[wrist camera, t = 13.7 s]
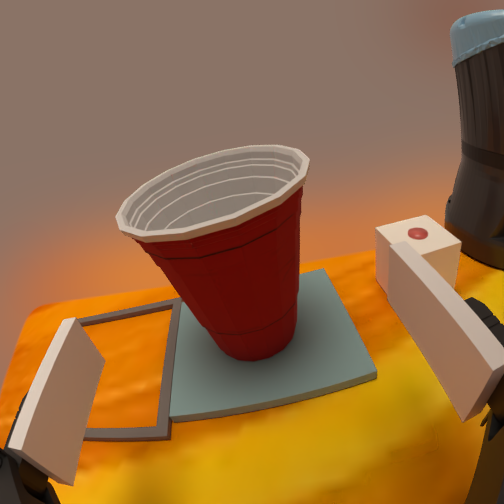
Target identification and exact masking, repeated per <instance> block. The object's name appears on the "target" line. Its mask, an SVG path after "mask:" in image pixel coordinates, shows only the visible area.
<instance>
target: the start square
mask: <svg viewBox="0 0 504 504" xmlns="http://www.w3.org/2000/svg"><path fill="white" fill-rule="evenodd" d="M182 302H184V301H183V300H182V298H181V297H179V298H175V299H170V300H166V301H161V302H156V303H152V304H147V305H143V306H138V307H133V308H129V309H124V310H119V311H114V312H109V313H105V314H100V315H95V316H90V317H85V318H80V319H77V320H78V321H79V323H80V324H81V326H87V325H92V324H98V323H103V322H108V321H113V320H118V319H123V318H128V317H133V316H138V315H143V314H148V313H153V312H158V311H163V310H167V309H172V314H171V320H170V326H169V333H168V339H167V346H166V353H165V360H164V367H163V374H162V382H161V390H160V399H159V407H158V417H157V426H155V427H137V428H86V430H85V434H84V438H83V440H88V441H153V440H170V439H171V423H172V419H171V418H170V417H169V414H170V402H171V391H172V380H173V370H174V361H175V352H176V343H177V335H178V327H179V319H180V311H181V304H182Z"/></svg>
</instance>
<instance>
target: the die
mask: <svg viewBox="0 0 504 504" xmlns="http://www.w3.org/2000/svg"><path fill="white" fill-rule="evenodd" d="M375 234H376V235H375V236H376V237H375V238H376V280H377V282H378V283H379V284H380V286H381V287H382V288H383V290H384V291H385V293H386V294H387V295H388V272H389V245H392V244H395V243H399V242H403V241H406V242H407V243H408V244H409V245H410V246H411V247H412V248H414V249H415V250H416V251H417V252H418V253H419V254H420V255H421V256H422V257H423V258H424V259H425V260H426V261H427V262H428V263H429V264H430V265H431V266H432V267H433V268H434V269H435V270H436V271H437V272H438V273H439V274H440V275H441V277H442V278H443V279H444V280H445V281H446V282H447V283H448V284H449V285H450V286H451V287H452V288H453V289H454V287H455V282H456V276H457V270H458V264H459V258H460V251H461V244H462V242H461V241H460V240H459V239H457V238H456V237H455V236H453V235H452V234H451V233H450V232H448V231H447V230H446V229H444V228H443V227H442V226H440V225H439V224H438V223H436V222H435V221H434V220H432V219H431V218H430V217H428V216H427V215H424V216H420V217H416V218H411V219H408V220H403V221H400V222H395V223H392V224H388V225H384V226H380V227H376V228H375Z"/></svg>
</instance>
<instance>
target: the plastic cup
mask: <svg viewBox="0 0 504 504" xmlns="http://www.w3.org/2000/svg"><path fill="white" fill-rule="evenodd" d="M309 164H310V159H309V158H308V157H307V156H306V155H304V153H302V152H301V151H300V150H299V149H295V148H290V147H286V146H281V145H252V146H246V147H239V148H233V149H228V150H223V151H219V152H216V153H212V154H209V155H205V156H202V157H199V158H196V159H193V160H190V161H188V162H186V163H183V164H181V165H179V166H176V167H174V168H172V169H169V170H167V171H165V172H164V173H162V174H160V175H159V176H157V177H155V178H153V179H152V180H150V181H148V182H147V183H145V184H144V185H142V186H141V187H140V188H139V189H138V190H136V191H135V192H134V193H133V194H132V195H131V196H129V197H128V198H127V199H126V200H125V201H124V203H123V205H122V206H121V208H120V209H119V211H118V213H117V215H116V220H117V223H118V226H119V230H120V231H121V232H122V233H123V234H124V235H125V236H128V237H131V238H132V239H135V241H136V242H137V243H139V244H140V245H141V247H142V248H143V249H144V251H145V252H146V253H148V254H149V255H150V256H151V258H152V259H153V261H154V262H155V263H156V265H157V266H159V267H160V268H161V269H162V271H163V272H164V274H165V275H166V277H167V278H168V280H169V281H170V282H171V284H172V285H173V287H174V288H175V290H176V291H177V292H178V294H179V295H180V297H181V298H182V300H183V301H184V302H185V304H186V305H187V306H188V308H189V309H190V311H191V312H192V313H193V315H194V316H195V317H196V319H197V320H198V322H199V323H200V324H201V326H202V327H204V328H206V330H207V331H208V333H209V334H210V336H211V337H212V338H213V340H214V341H215V343H216V344H217V345H218V347H219V348H220V349H221V350H222V351H224V352H225V354H226V355H228V356H230V357H232V358H234V359H236V360H240V361H252V362H254V361H258V360H262V359H267V358H270V357H272V356H273V355H275V354H277V353H279V352H280V351H282V350H284V348H285V347H286V346H287V345H288V344H289V342H290V341H291V340H292V339H293V335H294V331H295V327H296V323H297V295H298V292H299V262H300V259H299V258H300V255H299V254H300V215H301V198H302V195H303V185H304V184H305V181H306V177H307V173H308V170H309Z"/></svg>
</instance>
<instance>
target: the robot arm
mask: <svg viewBox="0 0 504 504" xmlns="http://www.w3.org/2000/svg"><path fill="white" fill-rule="evenodd" d="M450 39H451V45H452V53H453V62H452V66H453V68H455V72H456V79H457V86H458V95H459V105H460V119H461V140H462V141H461V142H462V158H461V163H460V167H459V170H458V173H457V177H456V180H455V184H454V188H453V193H452V195H451V196H450V197H449V199H448V201H447V204H446V211H445V229H446V230H447V231H448V232H450V233H451V234H452V235H453V236H455V237H456V238H457V239H459V240H460V241H461V242H462V244H461V250H462V251H464V252H465V253H467V254H468V255H470V256H471V257H473V258H475V259H477V260H479V261H481V262H484V263H486V264H489V265H491V266H494V267H498V268H501V269H504V10H490V11H482V12H477V13H473V14H470V15H467V16H464V17H462V18H460V19H458V20H457V21H456V22H454V24H453V25H452V27H451V30H450ZM387 300H388V302H389V303H390V305H391V306H392V308H393V309H394V311H395V312H396V314H397V315H398V317H399V318H400V320H401V321H402V323H403V324H404V326H405V327H406V329H407V330H408V332H409V333H410V335H411V336H412V338H413V340H414V341H415V343H416V344H417V346H418V347H419V349H420V351H421V352H422V354H423V355H424V357H425V359H426V360H427V362H428V363H429V365H430V367H431V368H432V370H433V372H434V373H435V375H436V377H437V378H438V380H439V382H440V383H441V385H442V387H443V389H444V390H445V392H446V394H447V395H448V397H449V399H450V401H451V402H452V404H453V406H454V408H455V410H456V411H457V413H458V415H459V417H460V419H461V421H462V422H465V421H467V420H468V419H470V418H472V417H474V416H475V415H477V414H479V413H480V412H481V411H482V410H483V408H484V407H485V405H486V403H488V405H489V407H490V408H491V409H490V411H489V412H488V414H487V415H486V416H485V418H484V419H483V421H482V423H481V425H480V426H484V424H485V423H486V422H487V425H486V430H485V435H484V439H483V444H482V448H481V452H480V456H479V460H478V464H477V467H476V471H475V474H474V478H473V481H472V484H471V487H470V490H469V493H468V496H467V499H466V502H465V504H504V325H503V324H502V323H501V324H500V321H499V320H498V319H497V317H496V316H493V313H492V312H491V311H490V310H489V309H488V307H487V306H486V305H485V304H484V303H482V302H480V301H478V300H476V299H475V298H473V297H471V298H469V299H466V300H463V299H462V298H461V297H460V296H459V295H458V293H457V292H456V291H455V290H454V289H453V288H452V287H451V286H450V285H449V284H448V283H447V282H446V281H445V280H444V279H443V278H442V277H441V275H440V274H439V273H438V272H437V271H436V270H435V269H434V268H433V267H432V266H431V265H430V264H429V263H428V262H427V261H426V260H425V259H424V258H423V257H422V256H421V255H420V254H419V253H418V252H417V251H416V250H415V249H414V248H412V247H411V246H410V245H409V244H408V243H407V242H406V241H403V242H399V243H395V244H392V245H389V272H388V295H387ZM104 363H105V360H104V358H103V357H102V355H101V354H100V353H99V351H98V350H97V348H96V347H95V345H94V344H93V343H92V341H91V340H90V338H89V337H88V335H87V334H86V332H85V331H84V329H83V328H82V326H81V324H80V323H79V321H78V320H77V318H76V317H75V318H70V319H64V320H63V321H62V323H61V325H60V327H59V329H58V331H57V333H56V335H55V337H54V339H53V341H52V343H51V345H50V347H49V349H48V351H47V353H46V355H45V357H44V359H43V361H42V363H41V365H40V367H39V369H38V372H37V374H36V376H35V378H34V381H33V383H32V385H31V387H30V390H29V391H28V392H27V394H26V395H25V396H24V398H23V399H22V402H21V404H20V407H19V411H18V412H17V414H16V419H14V422H13V425H12V427H11V430H10V433H9V436H8V438H7V441H6V444H5V447H4V449H1V448H0V504H61V503H60V501H59V499H58V497H57V495H56V493H55V490H54V488H53V486H52V485H51V483H49V482H47V481H48V477H50V478H51V479H53V480H55V481H56V482H58V483H60V484H65V485H70V486H73V485H74V480H75V475H76V470H77V465H78V460H79V456H80V451H81V447H82V442H83V438H84V434H85V430H86V426H87V422H88V418H89V415H90V411H91V407H92V404H93V400H94V397H95V393H96V390H97V386H98V383H99V380H100V376H101V373H102V370H103V367H104Z"/></svg>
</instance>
